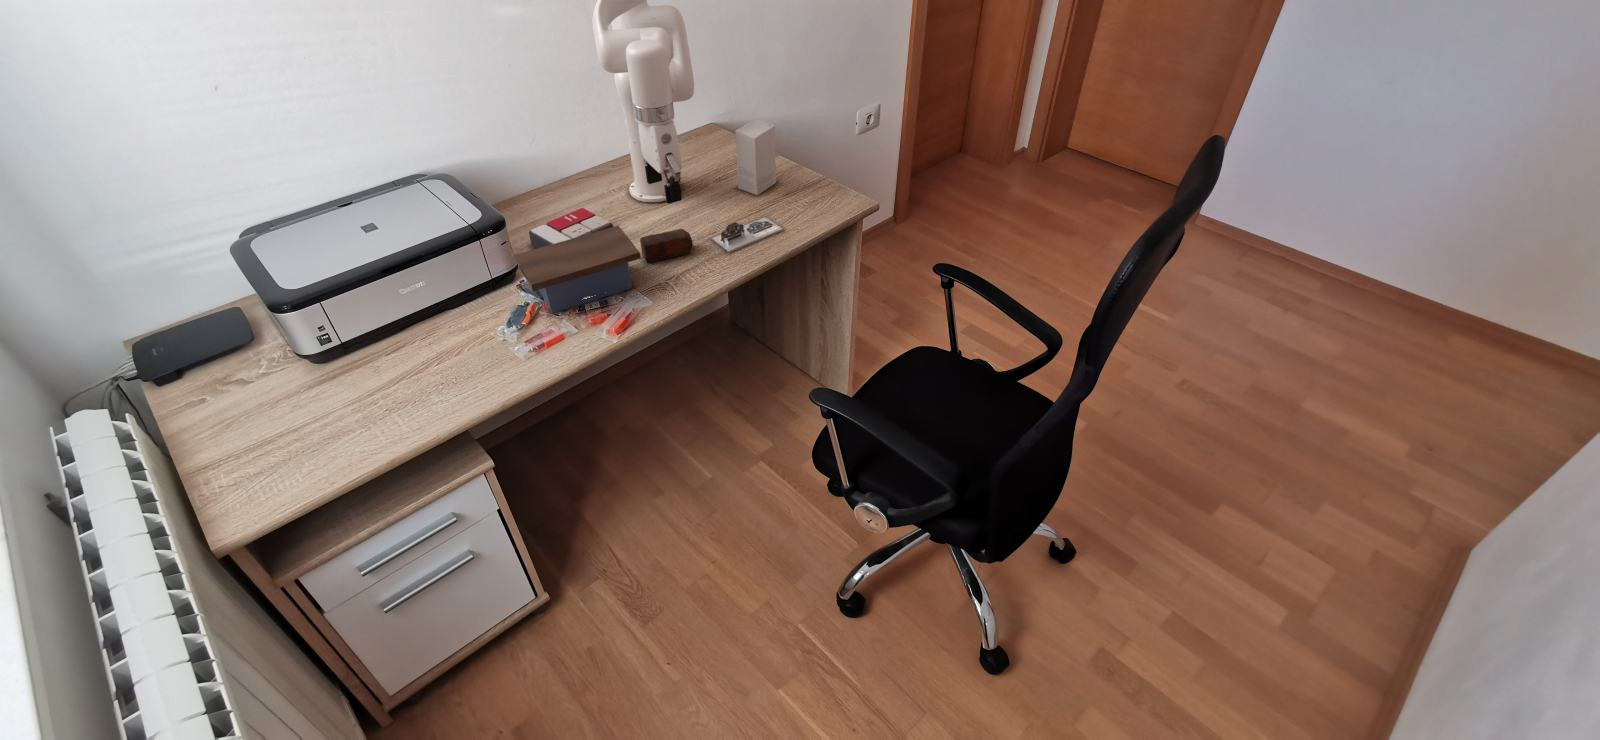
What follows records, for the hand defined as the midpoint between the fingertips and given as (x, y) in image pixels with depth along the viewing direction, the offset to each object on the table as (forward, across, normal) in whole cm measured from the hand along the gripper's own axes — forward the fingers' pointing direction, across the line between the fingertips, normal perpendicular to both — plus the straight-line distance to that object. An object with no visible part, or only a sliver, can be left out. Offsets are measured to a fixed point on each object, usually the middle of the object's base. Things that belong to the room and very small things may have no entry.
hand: (664, 191), depth 153 cm
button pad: (+16, +18, +16) cm, 29 cm away
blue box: (+16, -1, +20) cm, 26 cm away
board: (+9, -1, +20) cm, 22 cm away
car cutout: (+16, -1, -18) cm, 24 cm away
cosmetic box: (+16, +18, -32) cm, 40 cm away
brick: (+16, +2, 0) cm, 16 cm away
